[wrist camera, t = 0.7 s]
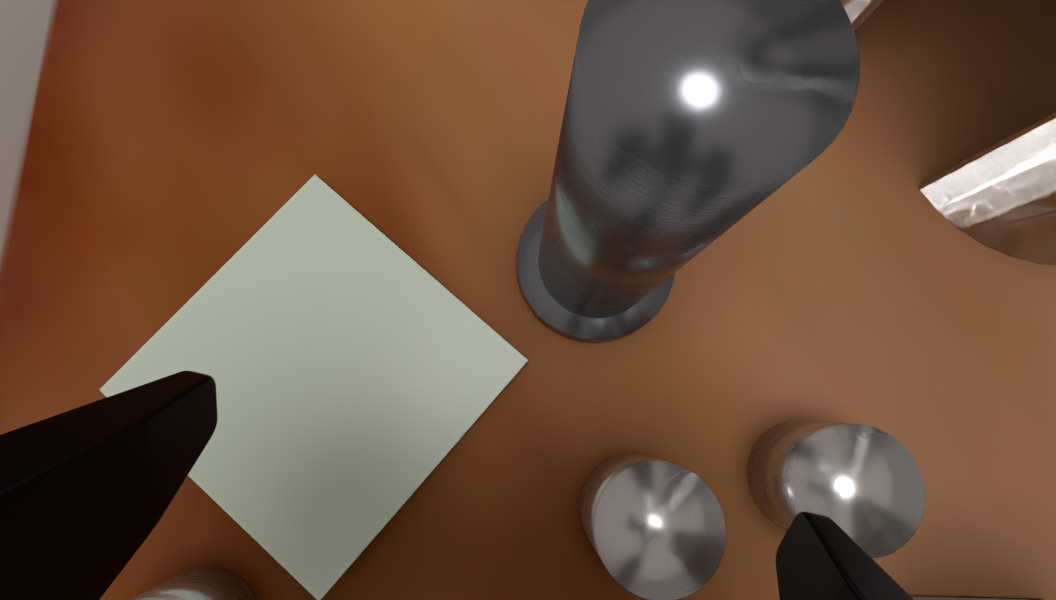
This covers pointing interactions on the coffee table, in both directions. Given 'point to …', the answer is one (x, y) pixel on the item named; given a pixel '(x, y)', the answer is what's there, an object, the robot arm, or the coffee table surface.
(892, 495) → the cylinder
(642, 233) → the standoff
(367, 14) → the coffee table surface
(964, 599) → the coffee box
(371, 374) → the pad
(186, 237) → the coffee table surface
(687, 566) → the cylinder
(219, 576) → the cylinder
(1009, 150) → the grey metal tall arch
